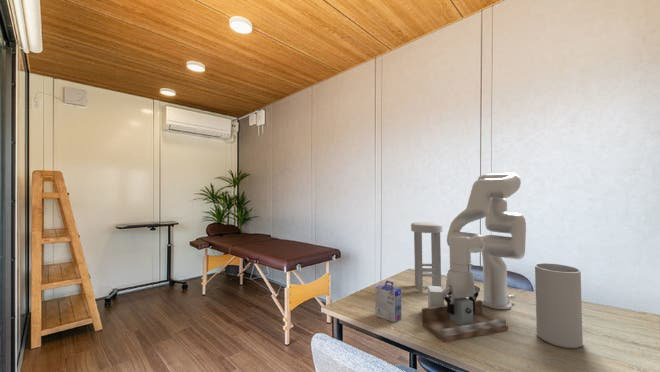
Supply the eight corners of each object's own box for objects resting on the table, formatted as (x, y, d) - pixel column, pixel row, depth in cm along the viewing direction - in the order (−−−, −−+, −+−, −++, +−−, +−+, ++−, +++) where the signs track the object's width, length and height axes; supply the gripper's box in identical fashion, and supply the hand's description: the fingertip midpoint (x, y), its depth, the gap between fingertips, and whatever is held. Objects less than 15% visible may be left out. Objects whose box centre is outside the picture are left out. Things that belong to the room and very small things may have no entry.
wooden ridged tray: (480, 315, 119) (479, 300, 119) (507, 330, 106) (507, 312, 106) (422, 325, 111) (421, 308, 111) (444, 342, 98) (444, 323, 98)
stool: (410, 284, 160) (409, 221, 161) (439, 285, 158) (438, 222, 159) (414, 293, 145) (413, 225, 146) (446, 295, 143) (445, 225, 143)
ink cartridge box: (402, 318, 117) (401, 283, 117) (395, 323, 113) (395, 286, 113) (381, 311, 124) (381, 278, 124) (374, 316, 119) (374, 281, 120)
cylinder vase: (569, 353, 91) (567, 274, 91) (528, 335, 102) (527, 265, 103) (590, 344, 96) (588, 270, 96) (549, 328, 107) (548, 261, 108)
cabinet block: (460, 317, 114) (459, 294, 114) (475, 326, 106) (474, 302, 106) (449, 319, 112) (449, 296, 113) (464, 328, 105) (463, 303, 105)
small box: (444, 318, 117) (444, 292, 117) (430, 317, 118) (430, 291, 118) (441, 310, 125) (440, 286, 125) (427, 309, 126) (427, 285, 126)
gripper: (471, 263, 116) (472, 305, 116) (435, 266, 111) (436, 310, 111) (486, 267, 109) (487, 312, 109) (448, 272, 104) (449, 319, 104)
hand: (461, 311), depth 110 cm, fingers open, 9 cm apart
